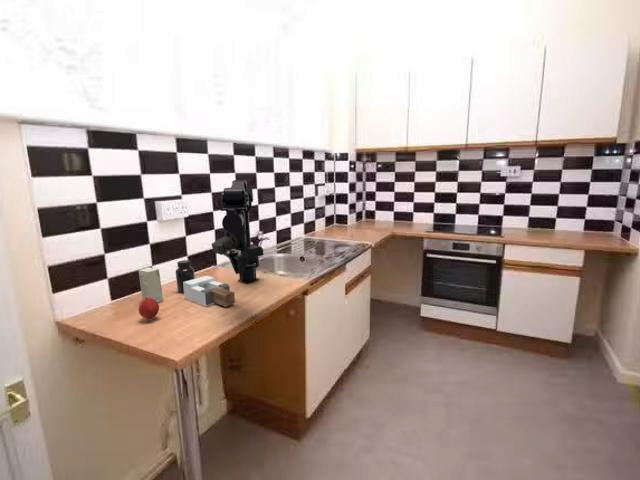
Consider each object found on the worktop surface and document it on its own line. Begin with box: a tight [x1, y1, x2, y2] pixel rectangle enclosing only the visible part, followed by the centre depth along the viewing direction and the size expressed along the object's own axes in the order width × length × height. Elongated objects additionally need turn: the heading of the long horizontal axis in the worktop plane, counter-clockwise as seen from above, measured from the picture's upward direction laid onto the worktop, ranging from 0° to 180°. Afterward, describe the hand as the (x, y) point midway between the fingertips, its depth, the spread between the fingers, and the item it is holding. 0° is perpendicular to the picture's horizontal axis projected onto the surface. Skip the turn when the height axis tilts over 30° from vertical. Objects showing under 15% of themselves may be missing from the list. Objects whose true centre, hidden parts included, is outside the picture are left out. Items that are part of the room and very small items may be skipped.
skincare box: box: [138, 266, 164, 304], centre depth 122 cm, size 6×4×12 cm
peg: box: [211, 287, 236, 308], centre depth 120 cm, size 4×10×4 cm, turn 52°
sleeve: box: [183, 275, 231, 307], centre depth 125 cm, size 10×14×6 cm
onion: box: [138, 296, 160, 321], centre depth 107 cm, size 6×6×8 cm
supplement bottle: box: [175, 259, 196, 294], centre depth 133 cm, size 7×7×12 cm
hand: (239, 274), depth 111 cm, fingers closed
